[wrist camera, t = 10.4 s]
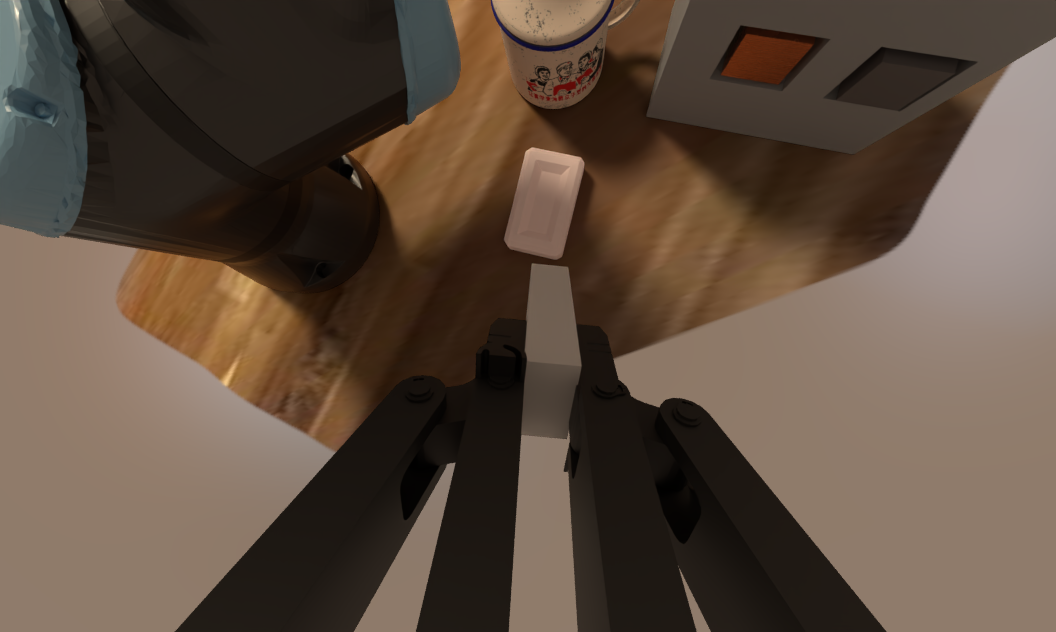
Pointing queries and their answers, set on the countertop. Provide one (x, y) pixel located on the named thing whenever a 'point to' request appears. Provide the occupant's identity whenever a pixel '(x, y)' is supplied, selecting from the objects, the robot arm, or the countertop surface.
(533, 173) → the soap bar
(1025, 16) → the panel
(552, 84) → the teacup with lid
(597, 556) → the robot arm
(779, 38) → the plunger
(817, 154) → the countertop surface
